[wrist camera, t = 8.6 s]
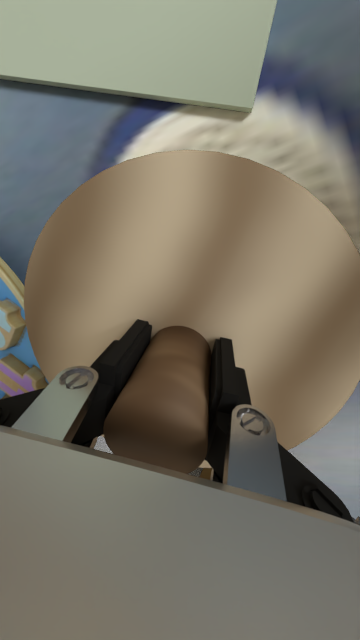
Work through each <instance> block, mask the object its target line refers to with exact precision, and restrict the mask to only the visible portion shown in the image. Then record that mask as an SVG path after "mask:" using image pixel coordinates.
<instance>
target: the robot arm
mask: <svg viewBox="0 0 360 640" xmlns="http://www.w3.org/2000/svg"><path fill="white" fill-rule="evenodd" d="M151 332H152V325H149V322H148V321H144V320H139V319H137V320H136V321H135V323H134V324H133V325H132V326H131V327H130V328H129V329H128V331H127V332H126V333H125V334H124V335H123V336H122V338H121V339H120V340H114V341H113V342H112V343H111V344H110V345H109V346H108V347H107V348H106V349H105V350H104V352H103V353H102V354H101V355H100V356H99V357H98V358H97V359H96V360H95V361H94V362H93V364H92V365H91V366H90V367H87V366H73V367H70V368H67V369H65V370H63V371H61V372H60V373H59V374H57V375H56V377H55V378H54V379H53V380H52V381H51V382H50V383H49V385H48V386H47V387H46V388H42V389H38V390H34V391H31V392H27V393H23V394H19V395H15V396H12V397H8V398H4V399H0V640H360V517H359V516H358V518H357V519H356V520H355V519H354V518H353V517H351V515H350V513H349V511H348V509H347V508H346V506H345V505H344V503H343V502H342V501H341V500H340V499H339V497H338V496H337V495H336V494H335V493H334V492H333V491H332V490H330V489H329V488H328V487H327V486H326V485H325V484H324V483H323V482H322V481H320V480H319V479H318V478H317V477H316V476H315V475H314V474H313V473H312V472H310V471H309V470H308V469H307V468H306V467H305V466H304V465H303V464H302V463H300V462H299V461H298V460H297V459H296V458H295V457H294V456H293V455H292V454H290V453H289V452H288V451H287V450H286V449H285V448H284V447H283V446H282V445H280V444H279V443H278V442H277V436H276V430H275V426H274V423H273V421H272V420H271V418H270V417H269V416H268V415H267V414H266V413H265V412H264V411H262V410H261V409H259V408H257V407H255V406H252V404H251V399H250V394H249V389H248V384H247V378H246V373H245V370H244V369H243V368H239V367H236V366H235V359H234V352H233V344H232V339H228V338H223V337H220V339H215V343H214V346H213V350H212V354H211V370H210V393H209V422H208V447H207V454H206V457H205V459H204V460H206V461H207V462H208V463H209V465H210V466H211V467H212V468H213V469H212V472H211V479H210V480H207V479H204V478H200V477H196V476H193V475H189V474H185V473H182V472H178V471H174V470H170V469H167V468H163V467H159V466H155V465H152V464H148V463H144V462H140V461H137V460H133V459H129V458H125V457H122V456H118V455H114V454H110V453H107V452H103V451H99V450H95V449H94V447H95V444H96V442H97V438H98V436H101V435H103V434H104V432H103V427H104V422H105V419H106V417H107V415H108V414H109V412H110V410H111V409H112V407H113V405H114V403H115V402H116V400H117V398H118V397H119V395H120V393H121V391H122V390H123V388H124V386H125V384H126V383H127V381H128V379H129V378H130V376H131V374H132V372H133V371H134V369H135V367H136V366H137V364H138V362H139V360H140V359H141V357H142V355H143V353H144V352H145V350H146V348H147V347H148V345H149V343H150V340H151Z"/></svg>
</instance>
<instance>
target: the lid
mask: <svg viewBox="0 0 360 640" xmlns="http://www.w3.org/2000/svg"><path fill="white" fill-rule="evenodd" d="M24 312H25V322H26V327H27V332H28V337H29V340H30V343H31V346H32V349H33V352H34V355H35V357H36V360H37V362H38V364H39V366H40V368H41V370H42V372H43V374H44V376H45V377H46V379H47V381H48V382H49V383H50V382H51V381H52V380H53V379H54V378H55V377H56V375H57V374H59V373H60V372H61V371H63V370H65V369H67V368H70V367H73V366H87V367H90V366H91V365H92V364H93V362H94V361H95V360H96V359H97V358H98V357H99V356H100V355H101V354H102V353H103V352H104V350H105V349H106V348H107V347H108V346H109V345H110V344H111V343H112V342H113V341H114V340H120V339H121V338H122V336H123V335H124V334H125V333H126V332H127V331H128V329H129V328H130V327H131V326H132V325H133V324H134V323H135V321H136V320H137V319H139V320H144V321H148V322H149V325H152V332H151V340H150V343H149V345H148V347H147V348H146V350H145V352H144V353H143V355H142V357H141V359H140V360H139V362H138V364H137V366H136V367H135V369H134V371H133V372H132V374H131V376H130V378H129V379H128V381H127V383H126V384H125V386H124V388H123V390H122V391H121V393H120V395H119V397H118V398H117V400H116V402H115V403H114V405H113V407H112V409H111V410H110V412H109V414H108V415H107V417H106V419H105V422H104V427H103V432H104V434H103V435H101V436H103V437H104V438H105V440H106V443H107V445H108V447H109V448H110V450H111V451H112V452H113V454H114V455H118V456H122V457H125V458H129V459H133V460H137V461H140V462H144V463H148V464H152V465H155V466H159V467H163V468H167V469H170V470H174V471H178V472H182V473H185V474H188V473H190V472H192V471H194V470H195V469H197V468H212V467H211V466H210V465H209V463H208V462H207V461H206V460H204V459H205V457H206V454H207V447H208V422H209V393H210V370H211V354H212V350H213V346H214V343H215V339H220V337H223V338H228V339H232V344H233V352H234V359H235V366H236V367H239V368H243V369H244V370H245V373H246V378H247V384H248V389H249V394H250V399H251V404H252V406H255V407H257V408H259V409H261V410H262V411H264V412H265V413H266V414H267V415H268V416H269V417H270V418H271V420H272V421H273V423H274V426H275V430H276V436H277V442H278V443H279V444H280V445H282V446H283V447H284V448H285V449H286V450H289V449H291V448H293V447H295V446H297V445H299V444H300V443H302V442H303V441H305V440H307V439H308V438H310V437H311V436H313V435H314V434H315V433H316V432H318V431H319V430H320V429H321V428H323V427H324V426H325V425H326V424H327V423H328V422H329V421H330V420H331V419H332V418H333V417H334V416H335V415H336V414H337V413H338V412H339V411H340V410H341V408H342V407H343V406H344V404H345V403H346V401H347V400H348V399H349V397H350V396H351V395H352V393H353V391H354V389H355V388H356V386H357V384H358V382H359V380H360V254H359V252H358V251H357V249H356V247H355V245H354V244H353V242H352V240H351V238H350V236H349V235H348V233H347V231H346V230H345V229H344V227H343V226H342V225H341V224H340V222H339V221H338V220H337V219H336V218H335V216H334V215H333V214H332V213H331V211H330V210H329V209H328V208H327V207H326V206H325V205H324V204H323V203H321V202H320V201H319V200H318V199H317V198H316V197H315V196H313V195H312V194H311V193H310V192H309V191H308V190H307V189H305V188H304V187H303V186H301V185H299V184H298V183H296V182H294V181H293V180H291V179H290V178H288V177H286V176H285V175H283V174H282V173H280V172H278V171H276V170H274V169H271V168H269V167H266V166H264V165H262V164H259V163H257V162H254V161H252V160H249V159H246V158H241V157H237V156H233V155H229V154H224V153H220V152H211V151H197V150H179V151H168V152H157V153H153V154H149V155H145V156H141V157H137V158H133V159H130V160H127V161H124V162H122V163H120V164H118V165H115V166H113V167H111V168H109V169H106V170H104V171H102V172H100V173H99V174H97V175H96V176H94V177H93V178H91V179H90V180H88V181H87V182H85V183H84V184H82V185H81V186H79V187H78V188H77V189H76V190H75V191H74V192H73V193H72V194H71V195H70V196H69V197H68V198H66V199H65V200H64V201H63V202H62V203H61V204H60V206H59V207H58V208H57V210H56V211H55V212H54V213H53V215H52V216H51V217H50V218H49V220H48V221H47V223H46V225H45V226H44V228H43V230H42V232H41V234H40V235H39V237H38V239H37V241H36V243H35V246H34V249H33V252H32V254H31V257H30V260H29V264H28V268H27V273H26V278H25V288H24Z"/></svg>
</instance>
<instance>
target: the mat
mask: <svg viewBox="0 0 360 640" xmlns="http://www.w3.org/2000/svg"><path fill="white" fill-rule="evenodd" d="M276 3H277V0H0V79H5V80H12V81H19V82H27V83H34V84H42V85H49V86H57V87H64V88H71V89H79V90H86V91H94V92H101V93H108V94H116V95H123V96H131V97H138V98H146V99H153V100H160V101H168V102H175V103H183V104H190V105H198V106H205V107H212V108H220V109H227V110H235V111H242V112H249V113H251V112H252V108H253V104H254V99H255V95H256V91H257V86H258V82H259V77H260V73H261V69H262V64H263V60H264V56H265V51H266V47H267V42H268V38H269V34H270V29H271V25H272V20H273V16H274V12H275V7H276Z"/></svg>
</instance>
